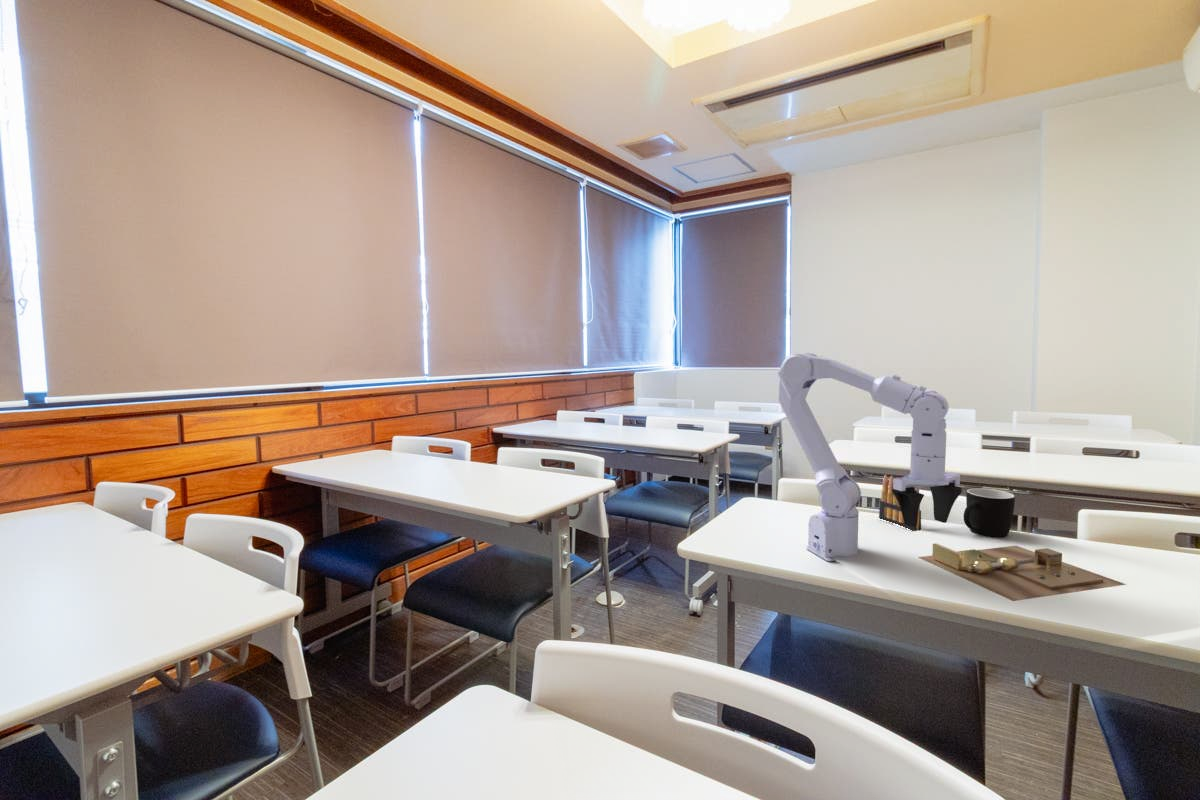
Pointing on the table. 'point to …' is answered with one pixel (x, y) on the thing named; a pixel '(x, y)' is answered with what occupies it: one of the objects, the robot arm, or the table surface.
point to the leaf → (975, 560)
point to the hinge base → (1055, 572)
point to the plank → (1011, 584)
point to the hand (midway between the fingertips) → (925, 523)
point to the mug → (989, 512)
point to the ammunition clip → (894, 506)
